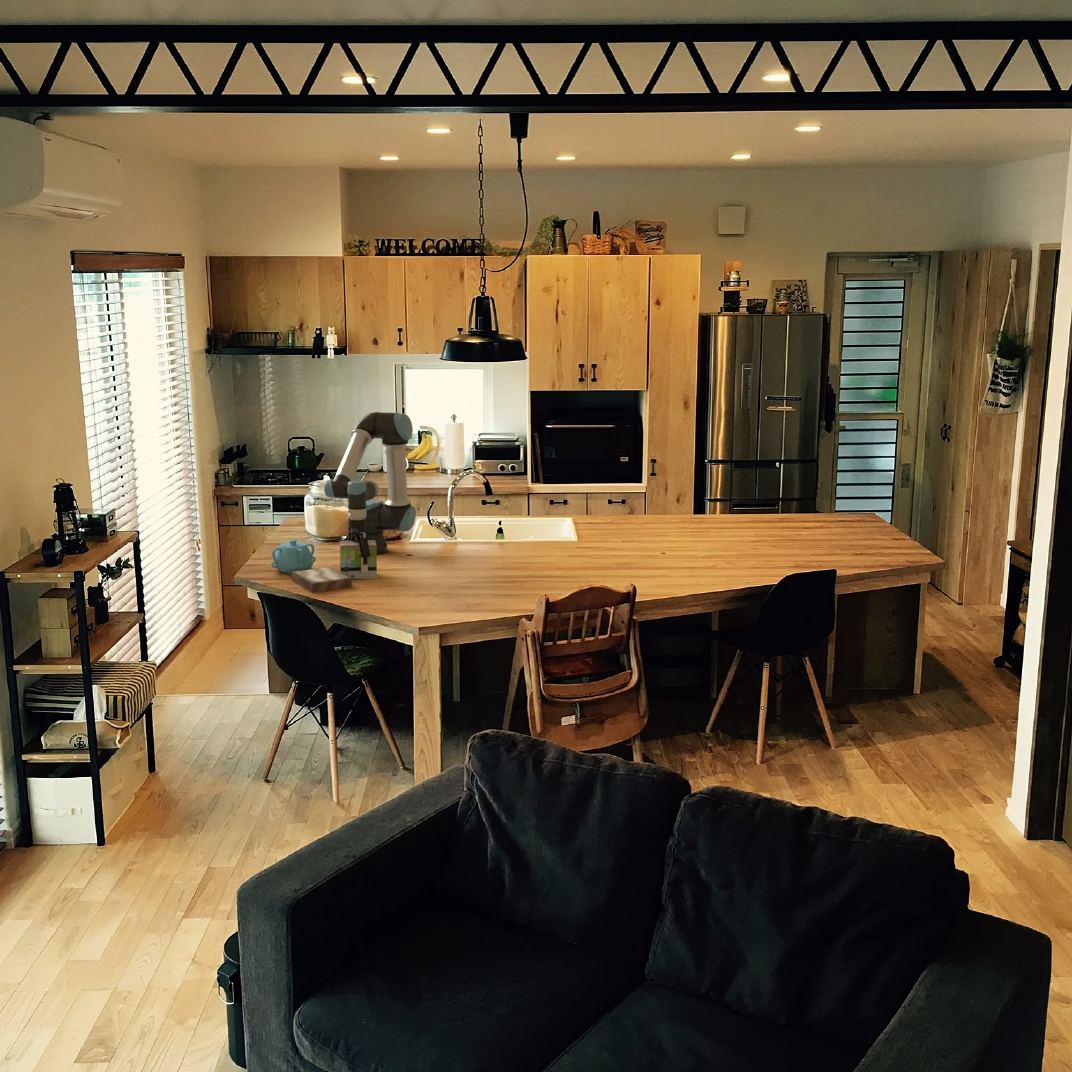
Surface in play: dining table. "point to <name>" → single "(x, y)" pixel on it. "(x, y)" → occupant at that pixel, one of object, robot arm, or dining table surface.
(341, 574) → the tray
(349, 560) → the tea box
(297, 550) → the decorative pot
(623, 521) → the dining table surface
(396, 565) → the dining table surface
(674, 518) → the dining table surface
